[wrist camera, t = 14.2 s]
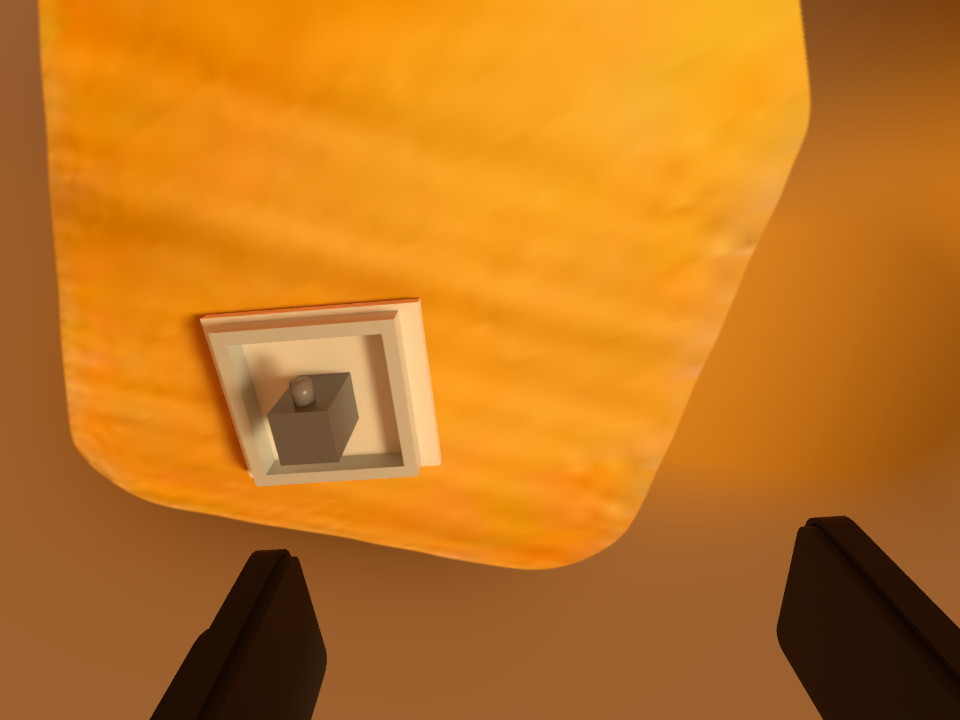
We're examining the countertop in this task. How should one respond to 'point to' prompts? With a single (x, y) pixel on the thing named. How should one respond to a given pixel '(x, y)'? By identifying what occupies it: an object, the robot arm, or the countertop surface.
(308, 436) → the connector plug
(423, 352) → the tray
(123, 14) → the countertop surface
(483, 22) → the countertop surface
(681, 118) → the countertop surface
